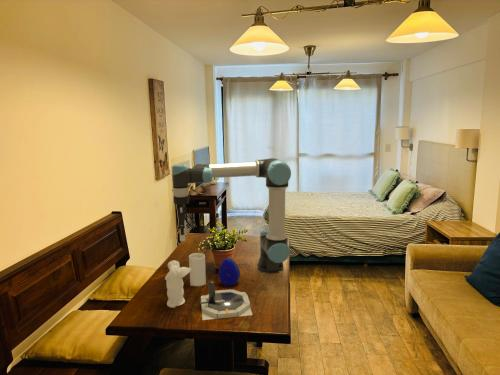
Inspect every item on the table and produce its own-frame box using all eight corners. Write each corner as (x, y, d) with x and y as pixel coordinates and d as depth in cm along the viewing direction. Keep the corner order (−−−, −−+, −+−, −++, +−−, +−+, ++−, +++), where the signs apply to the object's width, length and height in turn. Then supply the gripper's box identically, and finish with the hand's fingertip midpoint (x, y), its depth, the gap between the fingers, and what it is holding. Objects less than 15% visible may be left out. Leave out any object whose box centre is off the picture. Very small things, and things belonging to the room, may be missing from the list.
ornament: (242, 283, 193) (241, 256, 190) (234, 290, 185) (233, 263, 182) (224, 279, 198) (223, 253, 195) (215, 286, 190) (214, 259, 187)
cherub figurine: (170, 298, 179) (167, 255, 175) (195, 298, 178) (193, 255, 175) (163, 310, 167) (160, 265, 163) (190, 310, 166) (188, 265, 163)
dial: (240, 295, 178) (239, 272, 176) (244, 312, 163) (244, 287, 160) (207, 298, 176) (206, 274, 173) (208, 315, 160) (207, 290, 158)
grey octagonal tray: (245, 293, 182) (245, 287, 181) (252, 318, 160) (252, 311, 159) (199, 297, 178) (199, 291, 178) (200, 323, 156) (200, 316, 156)
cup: (203, 288, 188) (201, 259, 185) (188, 287, 190) (186, 258, 187) (208, 281, 196) (206, 253, 193) (193, 280, 198) (192, 252, 195)
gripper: (174, 191, 192) (176, 229, 196) (171, 201, 168) (174, 245, 172) (189, 190, 193) (191, 228, 197) (188, 200, 169) (190, 244, 173)
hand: (183, 236), depth 185 cm, fingers open, 13 cm apart
